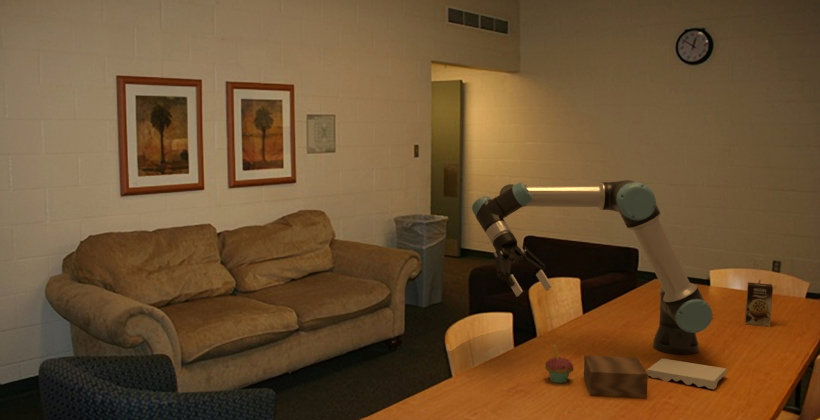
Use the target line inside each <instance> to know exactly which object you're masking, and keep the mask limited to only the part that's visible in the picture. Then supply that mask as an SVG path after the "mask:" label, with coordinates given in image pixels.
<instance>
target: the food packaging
mask: <svg viewBox="0 0 820 420" xmlns="http://www.w3.org/2000/svg"><path fill="white" fill-rule="evenodd" d="M646 372H647V374H648V377H649V376H650V377H651V378H653V379H660V380H662V382H669V381H671V380H673V381H675V382H679V381H682V382H683V383H684V384H685V385H687V386H690V385H692V384H694V385H695V386H696V387H697V388H701V387H706V388H707V389H710V390H715V389H716V388H717V387H718V383H719V381H720V380H722V379H723V377H725V376H726V375H727V368H724V367H718V366H711V365H705V364H699V363H693V362H687V361H681V360H674V359H669V358H660V359H659V360H658V361H657V362H655V363H654V364H652V365H651V366H650V367H649V368H647V369H646Z"/></svg>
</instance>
